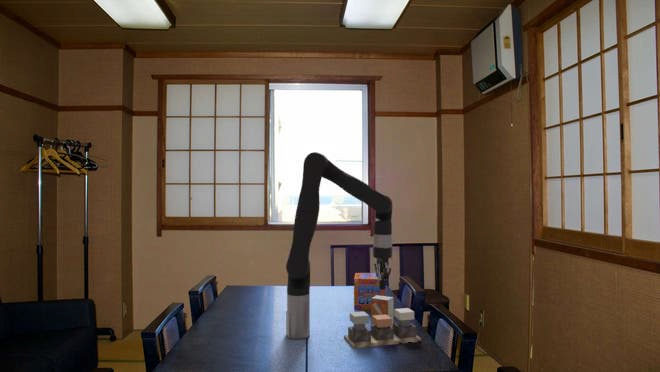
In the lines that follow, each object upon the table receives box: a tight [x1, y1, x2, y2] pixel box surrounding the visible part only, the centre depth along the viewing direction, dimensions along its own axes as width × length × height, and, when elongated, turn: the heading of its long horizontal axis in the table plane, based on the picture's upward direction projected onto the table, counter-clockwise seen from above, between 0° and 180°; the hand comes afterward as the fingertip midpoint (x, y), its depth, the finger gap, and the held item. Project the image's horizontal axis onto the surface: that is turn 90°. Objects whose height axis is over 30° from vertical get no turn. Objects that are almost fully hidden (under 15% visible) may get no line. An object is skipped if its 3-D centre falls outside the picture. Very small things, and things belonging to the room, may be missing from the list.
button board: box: [343, 322, 422, 349], centre depth 183 cm, size 28×12×5 cm, turn 105°
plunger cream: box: [393, 307, 415, 327], centre depth 186 cm, size 6×6×7 cm
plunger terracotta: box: [372, 315, 392, 329], centre depth 183 cm, size 6×6×7 cm
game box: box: [353, 272, 386, 311], centre depth 235 cm, size 16×16×16 cm
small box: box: [370, 295, 395, 327], centre depth 199 cm, size 8×6×13 cm
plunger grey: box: [349, 310, 370, 331], centre depth 181 cm, size 6×6×7 cm
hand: (382, 289), depth 183 cm, fingers closed
